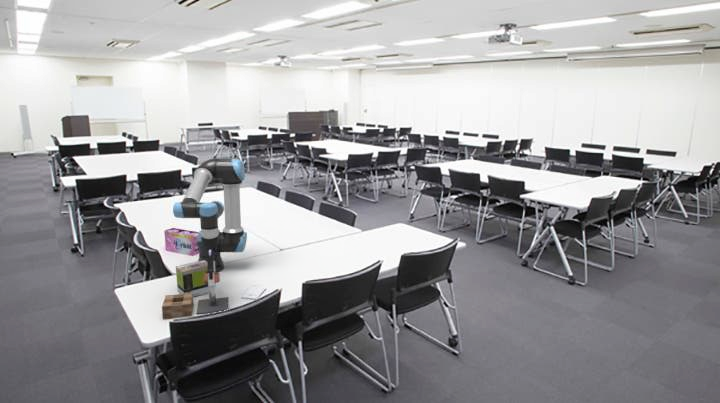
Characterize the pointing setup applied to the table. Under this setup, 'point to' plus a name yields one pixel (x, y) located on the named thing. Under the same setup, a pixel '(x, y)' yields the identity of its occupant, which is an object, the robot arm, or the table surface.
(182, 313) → the eye block
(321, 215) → the table surface
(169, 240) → the gum box
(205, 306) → the rubber mat
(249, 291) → the external hard drive
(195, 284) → the tea box
